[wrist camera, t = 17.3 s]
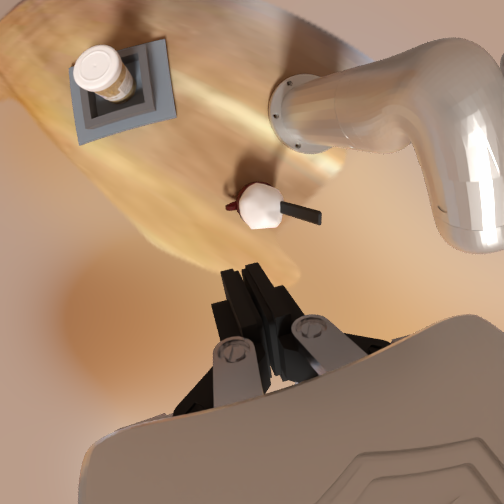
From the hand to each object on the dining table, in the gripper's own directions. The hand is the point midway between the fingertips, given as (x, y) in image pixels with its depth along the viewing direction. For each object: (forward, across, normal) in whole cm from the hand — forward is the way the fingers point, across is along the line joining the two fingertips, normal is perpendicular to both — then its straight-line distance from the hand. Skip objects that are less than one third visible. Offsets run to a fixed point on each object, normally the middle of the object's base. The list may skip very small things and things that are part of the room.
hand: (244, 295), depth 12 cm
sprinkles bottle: (+28, +8, -16) cm, 33 cm away
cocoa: (+29, -8, +4) cm, 31 cm away
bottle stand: (+29, +8, -16) cm, 34 cm away
